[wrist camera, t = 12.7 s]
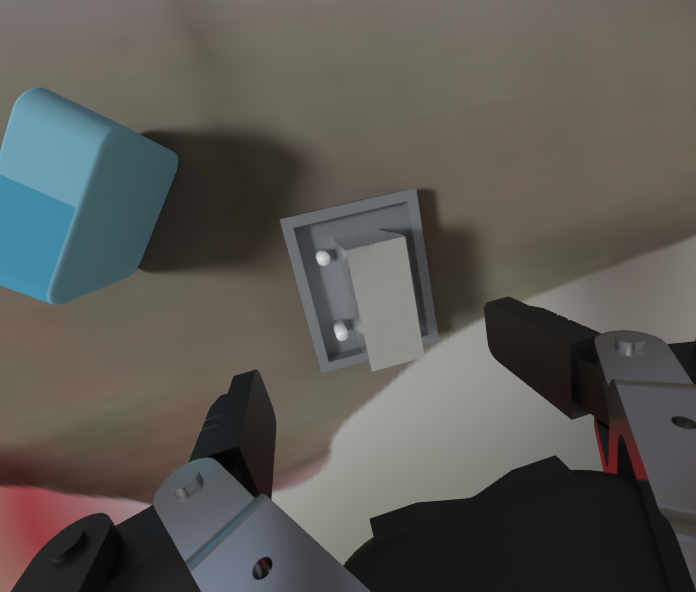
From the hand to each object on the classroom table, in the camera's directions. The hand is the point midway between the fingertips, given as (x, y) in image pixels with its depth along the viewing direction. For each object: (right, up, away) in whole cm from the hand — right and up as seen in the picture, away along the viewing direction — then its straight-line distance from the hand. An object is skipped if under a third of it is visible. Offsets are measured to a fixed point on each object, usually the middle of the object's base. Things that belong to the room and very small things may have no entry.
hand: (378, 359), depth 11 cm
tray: (0, +4, +24) cm, 24 cm away
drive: (+1, +4, +23) cm, 23 cm away
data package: (-21, +10, +19) cm, 30 cm away
